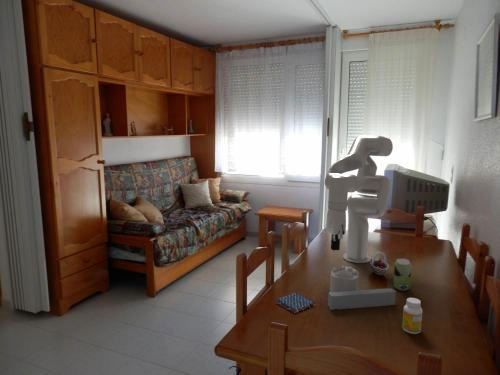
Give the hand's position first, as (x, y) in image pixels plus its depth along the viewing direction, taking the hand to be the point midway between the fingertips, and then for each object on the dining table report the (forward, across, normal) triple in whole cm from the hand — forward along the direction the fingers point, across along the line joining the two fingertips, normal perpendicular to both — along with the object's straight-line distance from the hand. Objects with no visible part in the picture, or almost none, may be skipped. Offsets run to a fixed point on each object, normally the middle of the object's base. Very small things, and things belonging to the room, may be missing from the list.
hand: (335, 249), depth 152 cm
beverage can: (+13, +13, +23) cm, 29 cm away
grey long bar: (+13, +24, +1) cm, 27 cm away
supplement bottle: (+14, +41, +9) cm, 44 cm away
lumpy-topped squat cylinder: (+13, +10, 0) cm, 17 cm away
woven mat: (+14, +19, -22) cm, 33 cm away
